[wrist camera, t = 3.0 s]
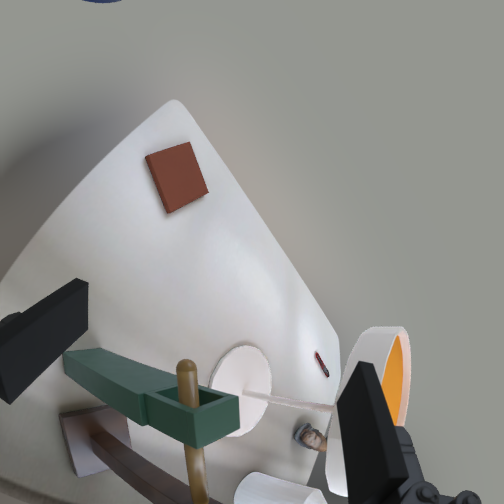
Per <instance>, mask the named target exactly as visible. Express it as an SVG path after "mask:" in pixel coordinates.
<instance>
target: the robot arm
mask: <svg viewBox="0 0 504 504" xmlns="http://www.w3.org/2000/svg"><path fill="white" fill-rule="evenodd" d="M87 330H88V282H86V281H83V280H81V279H78V278H75V279H74V280H72V281H71V282H69V283H67V284H66V285H64V286H63V287H61V288H59V289H58V290H56V291H55V292H53V293H52V294H50V295H49V296H47V297H45V298H44V299H42V300H41V301H39V302H38V303H36V304H35V305H33V306H32V307H30V308H29V309H27V310H26V311H24V312H23V313H20V312H17V313H13V314H10V315H8V316H6V317H5V318H3V319H2V320H1V321H0V398H1V399H2V400H4V401H5V402H6V403H8V404H9V405H10V404H11V403H12V402H13V401H14V400H15V399H16V398H17V397H18V396H19V395H20V394H21V393H22V392H23V391H24V390H25V389H26V388H27V387H28V386H29V385H30V384H31V383H32V382H33V381H34V380H35V379H36V378H37V377H38V376H39V375H41V374H42V373H43V372H44V371H45V370H46V369H47V368H48V367H49V366H50V365H51V364H52V363H53V362H54V361H55V360H56V359H57V358H58V357H59V356H60V355H61V354H62V353H63V352H64V351H66V350H67V349H68V348H69V347H70V346H71V345H72V344H73V343H74V342H75V341H76V340H77V339H78V338H79V337H81V336H82V335H83V334H84V333H85V332H86V331H87ZM336 405H337V412H338V419H339V426H340V433H341V441H342V448H343V456H344V465H345V473H346V482H347V492H348V502H349V504H481V500H480V498H479V496H478V495H477V494H475V493H474V492H472V491H467V490H465V491H462V492H461V493H460V494H458V495H457V496H456V497H450V496H445V495H440V494H439V492H438V490H437V488H436V487H435V486H434V485H432V484H431V483H429V482H426V481H425V480H424V477H423V474H422V471H421V467H420V464H419V462H418V458H417V455H416V454H415V449H414V447H413V443H412V440H411V437H410V435H409V434H408V432H407V431H406V430H405V428H404V427H403V426H394V423H393V420H392V417H391V414H390V411H389V408H388V405H387V402H386V399H385V396H384V393H383V390H382V387H381V384H380V381H379V378H378V375H377V373H376V370H375V367H374V364H373V363H369V362H364V361H358V363H357V365H356V367H355V369H354V371H353V373H352V375H351V377H350V379H349V380H348V382H347V384H346V386H345V388H344V390H343V392H342V393H341V395H340V397H339V399H338V401H337V402H336Z"/></svg>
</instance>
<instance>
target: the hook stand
mask: <svg viewBox="0 0 504 504" xmlns="http://www.w3.org/2000/svg"><path fill="white" fill-rule="evenodd" d="M176 372H177V385H178V396H179V403H181V404H184V405H186V406H189V407H192V408H197V407H200V406H199V393H198V379H197V367H196V365H195V363H194V362H193V361H191V360H189V359H183V360H181V361H180V362H179V363H178V364H177V367H176ZM59 417H60V422H61V426H62V431H63V435H64V439H65V443H66V446H67V450H68V454H69V457H70V461H71V464H72V467H73V471H74V473H75V475H76V476H77V477H78V478H80V477H84V476H88V475H91V474H95V473H98V472H102V471H105V470H108V469H111V470H113V471H114V472H115V473H116V474H117V475H118V476H119V477H121V478H122V479H123V480H124V481H125V482H127V483H128V484H129V485H130V486H132V487H133V488H134V489H135V490H137V491H138V492H139V493H140V494H142V495H143V496H144V497H146V498H147V499H148V500H150V501H151V502H152V503H154V504H223V503H220V502H218V501H216V500H214V499H212V498H211V497H209V493H208V485H207V476H206V468H205V459H204V450H203V447H202V448H200V449H198V450H197V449H194V448H192V447H190V446H188V445H186V444H184V450H185V458H186V465H187V472H188V479H189V485H190V486H188V485H186V484H185V483H183V482H181V481H180V480H178V479H176V478H174V477H173V476H171V475H170V474H168V473H166V472H165V471H163V470H161V469H160V468H158V467H157V466H155V465H154V464H152V463H151V462H149V461H148V460H146V459H145V458H143V457H142V456H140V455H139V454H137V453H136V452H134V451H133V450H132V447H131V441H130V436H129V430H128V424H127V418H126V416H124V415H123V414H121V413H120V412H118V411H117V410H115V409H114V408H112V407H110V406H109V405H104V406H100V407H95V408H90V409H85V410H79V411H74V412H68V413H63V414H59Z"/></svg>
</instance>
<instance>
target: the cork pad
mask: <svg viewBox="0 0 504 504" xmlns="http://www.w3.org/2000/svg"><path fill="white" fill-rule="evenodd" d="M145 158H146V161H147V163H148V166H149V169H150V171H151V174H152V177H153V179H154V182H155V184H156V187H157V189H158V192H159V194H160V197H161V199H162V202H163V204H164V207H165V209H166V212H167V214H168V213H171V212H173V211H175V210H177V209H179V208H181V207H182V206H184V205H186V204H188V203H190V202H192V201H194V200H196V199H198V198H199V197H201V196H203V195H205V194H207V193H209V192H208V189H207V186H206V184H205V181H204V178H203V176H202V173H201V171H200V168H199V165H198V163H197V160H196V157H195V155H194V152H193V149H192V146H191V144H190V142H187V143H184V144H181V145H177V146H174V147H171V148H168V149H165V150H162V151H159V152H156V153H153V154H150V155H148V156H146V157H145Z"/></svg>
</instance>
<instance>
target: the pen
mask: <svg viewBox="0 0 504 504" xmlns="http://www.w3.org/2000/svg"><path fill="white" fill-rule="evenodd" d="M317 355H318V357H319V359H320V360H319V359H318V357H317ZM316 358H317V360H318V362H319V363H320V365H321V367H322V369H323V371H324V373H325V375H326V373H327V372H328V370H327V368H326V366H325V365H324V363H323V361H322V360H321V358H320V356H319V354H318V353H316ZM320 361H321V362H320ZM326 376H327V377H329V372H328V373H327V375H326Z"/></svg>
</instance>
